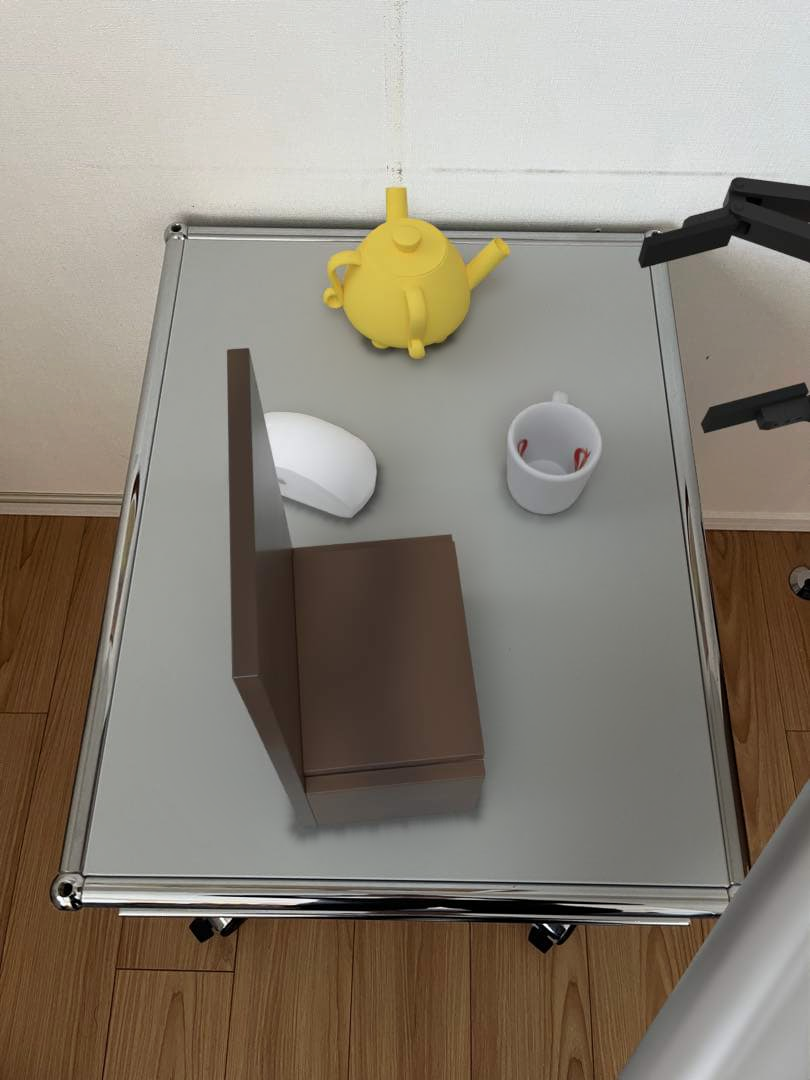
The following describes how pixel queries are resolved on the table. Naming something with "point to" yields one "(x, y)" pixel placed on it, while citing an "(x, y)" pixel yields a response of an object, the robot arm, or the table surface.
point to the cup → (551, 454)
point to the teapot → (407, 280)
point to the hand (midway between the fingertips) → (673, 334)
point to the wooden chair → (346, 650)
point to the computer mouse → (320, 463)
